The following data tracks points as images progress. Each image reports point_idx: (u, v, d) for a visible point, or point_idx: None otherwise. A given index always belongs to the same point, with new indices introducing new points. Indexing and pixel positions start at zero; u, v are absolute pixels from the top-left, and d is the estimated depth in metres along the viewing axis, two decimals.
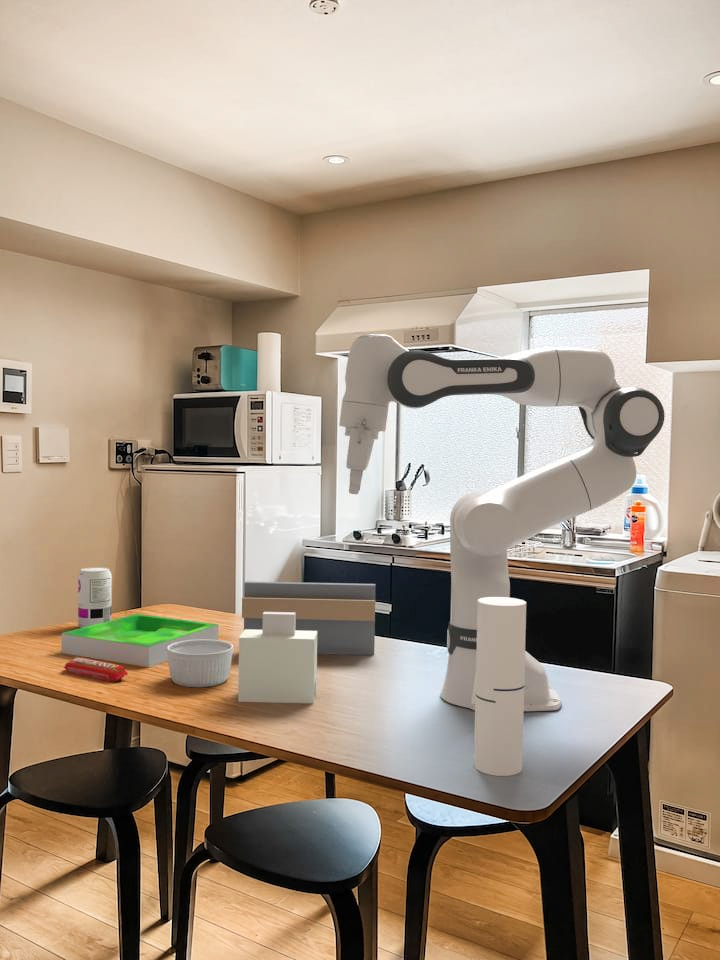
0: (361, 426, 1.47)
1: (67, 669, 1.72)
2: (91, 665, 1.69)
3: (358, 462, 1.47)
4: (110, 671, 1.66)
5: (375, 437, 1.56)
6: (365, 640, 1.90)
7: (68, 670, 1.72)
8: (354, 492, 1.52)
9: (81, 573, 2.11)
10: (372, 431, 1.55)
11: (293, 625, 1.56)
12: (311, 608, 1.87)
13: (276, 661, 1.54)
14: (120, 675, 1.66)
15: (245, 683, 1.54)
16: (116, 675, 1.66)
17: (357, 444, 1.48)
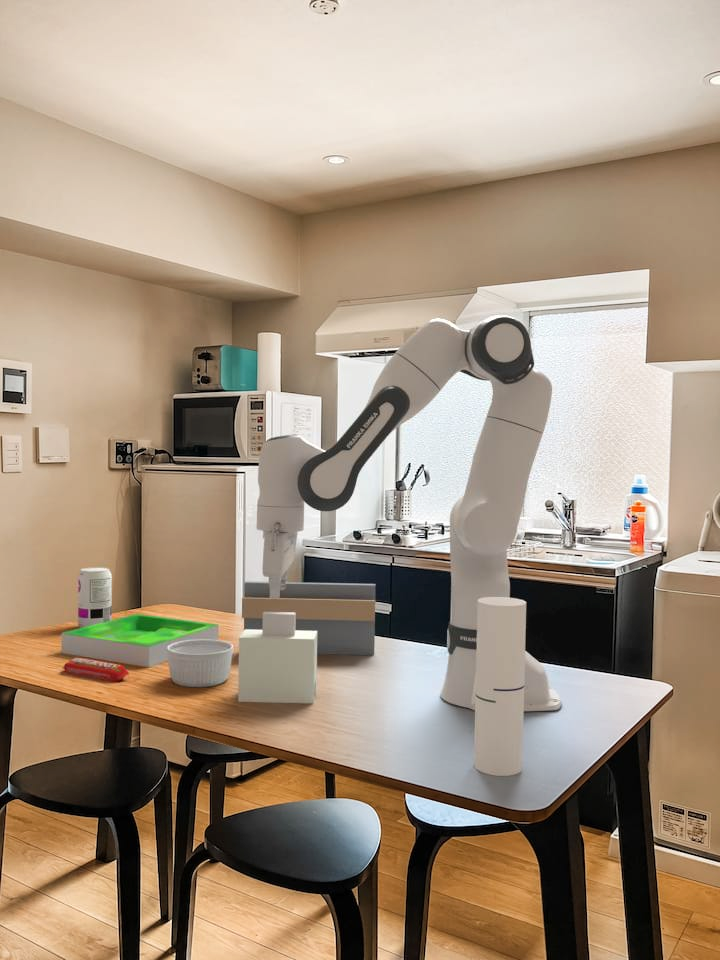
0: (273, 534, 1.46)
1: (66, 669, 1.71)
2: (91, 665, 1.69)
3: (274, 570, 1.47)
4: (112, 670, 1.66)
5: (293, 538, 1.55)
6: (365, 640, 1.90)
7: (67, 670, 1.71)
8: (275, 597, 1.51)
9: (81, 573, 2.11)
10: (289, 533, 1.54)
11: (293, 625, 1.56)
12: (311, 608, 1.87)
13: (276, 661, 1.54)
14: (122, 675, 1.66)
15: (245, 683, 1.54)
16: (118, 675, 1.66)
17: (271, 552, 1.47)
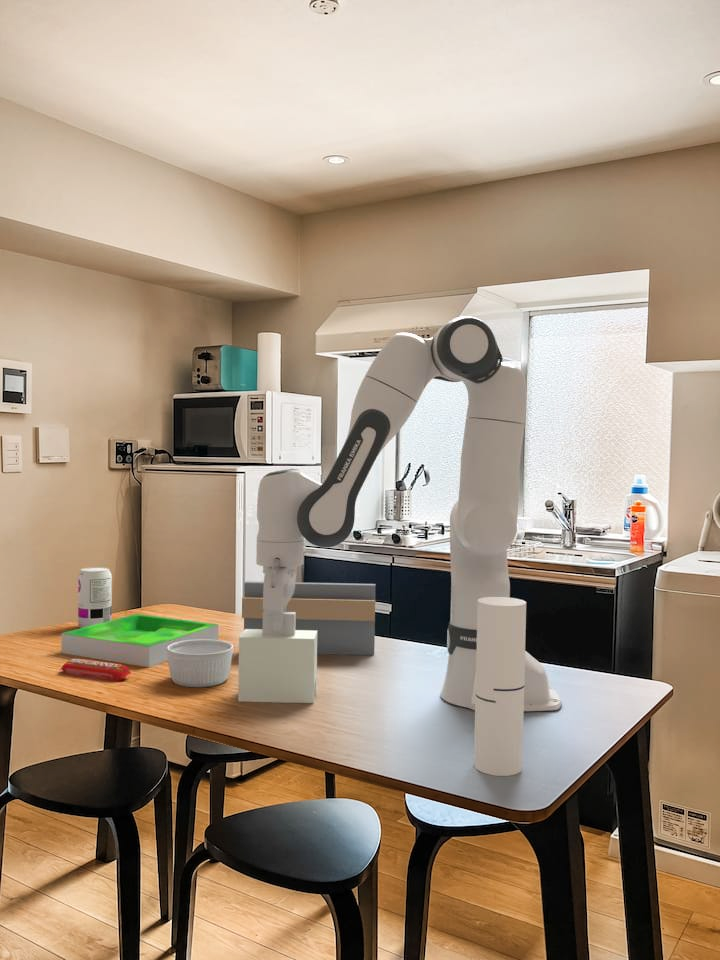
0: (273, 571, 1.47)
1: (65, 670, 1.71)
2: (92, 665, 1.69)
3: (274, 607, 1.47)
4: (114, 670, 1.67)
5: (293, 572, 1.55)
6: (365, 640, 1.90)
7: (66, 671, 1.71)
8: (278, 629, 1.55)
9: (81, 573, 2.11)
10: (289, 567, 1.54)
11: (293, 625, 1.56)
12: (311, 608, 1.87)
13: (276, 660, 1.54)
14: (124, 674, 1.67)
15: (245, 683, 1.54)
16: (121, 674, 1.66)
17: (271, 588, 1.47)
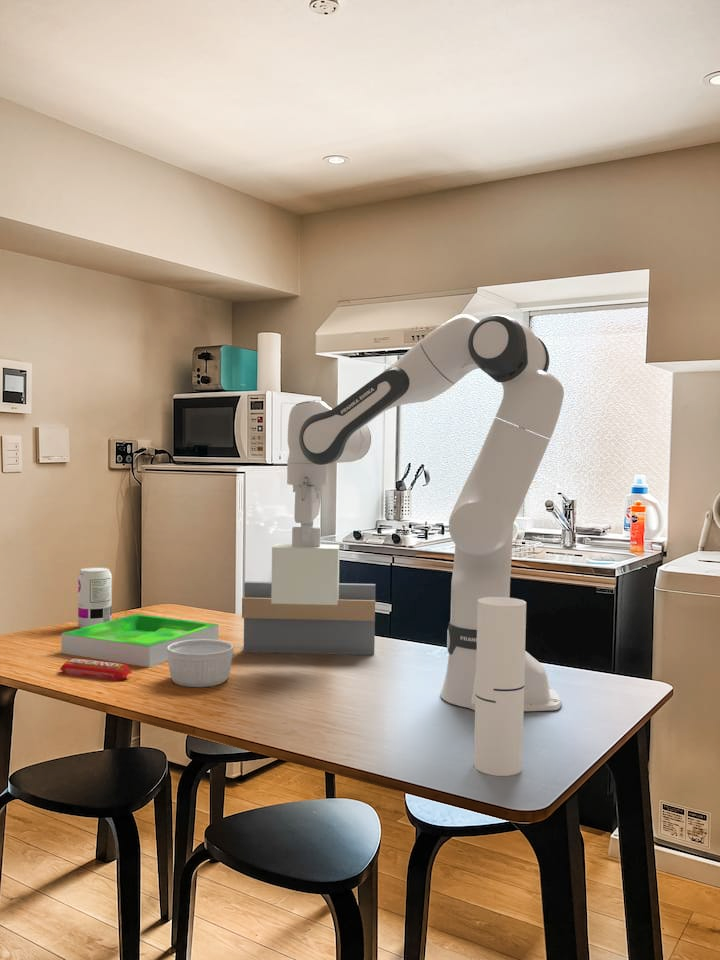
0: (303, 485, 1.69)
1: (64, 671, 1.71)
2: (92, 665, 1.69)
3: (304, 517, 1.69)
4: (116, 669, 1.67)
5: (319, 491, 1.78)
6: (365, 640, 1.90)
7: (66, 672, 1.71)
8: (306, 540, 1.77)
9: (81, 573, 2.11)
10: (316, 486, 1.77)
11: (319, 537, 1.79)
12: (311, 608, 1.87)
13: (304, 567, 1.76)
14: (126, 673, 1.67)
15: (277, 587, 1.77)
16: (122, 673, 1.67)
17: (302, 501, 1.70)
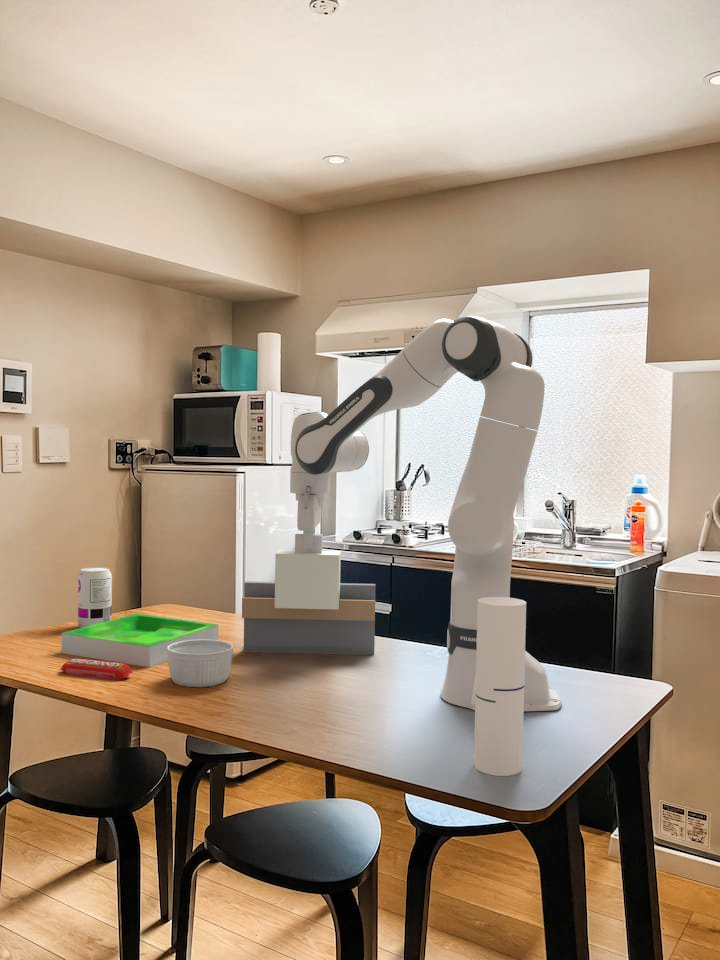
0: (306, 494, 1.75)
1: (65, 671, 1.71)
2: (93, 665, 1.69)
3: (307, 525, 1.76)
4: (117, 669, 1.67)
5: (321, 499, 1.84)
6: (365, 640, 1.90)
7: (66, 672, 1.71)
8: (309, 547, 1.83)
9: (81, 573, 2.11)
10: (318, 495, 1.83)
11: (321, 544, 1.85)
12: None
13: (306, 573, 1.83)
14: (127, 673, 1.68)
15: (281, 592, 1.83)
16: (123, 673, 1.67)
17: (304, 509, 1.76)
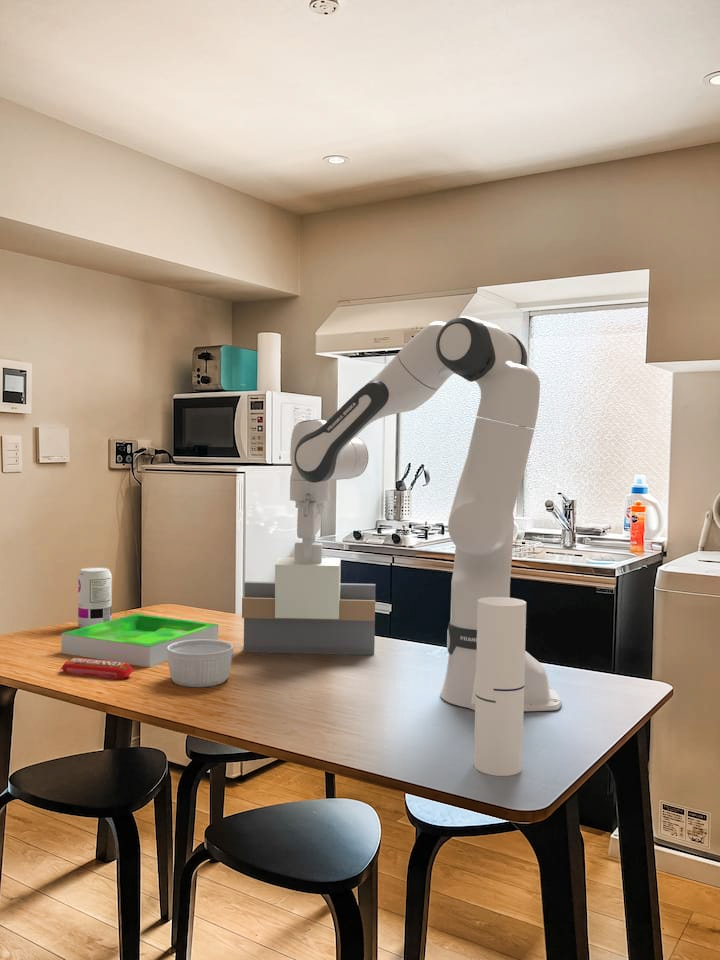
0: (305, 502, 1.75)
1: (66, 670, 1.71)
2: (94, 664, 1.70)
3: (306, 532, 1.76)
4: (118, 668, 1.68)
5: (321, 507, 1.84)
6: (365, 640, 1.90)
7: (67, 671, 1.71)
8: (308, 555, 1.82)
9: (81, 573, 2.11)
10: (317, 502, 1.83)
11: (320, 554, 1.84)
12: None
13: (306, 584, 1.82)
14: (128, 672, 1.68)
15: (281, 602, 1.83)
16: (125, 672, 1.68)
17: (304, 517, 1.76)
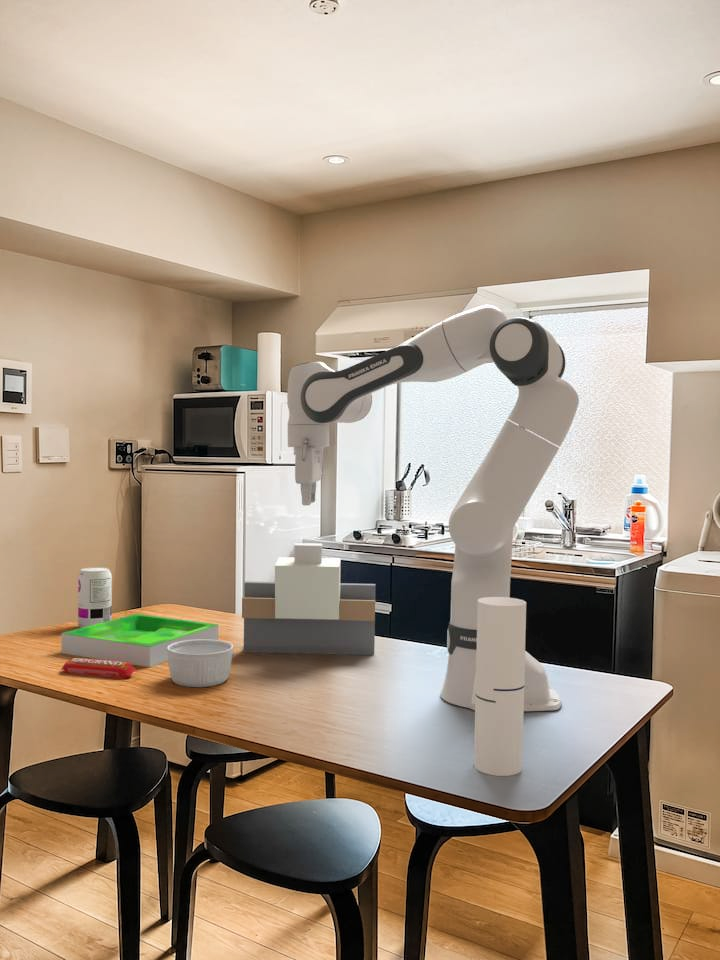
0: (303, 445, 1.67)
1: (67, 670, 1.71)
2: (95, 664, 1.70)
3: (305, 477, 1.68)
4: (120, 668, 1.68)
5: (320, 453, 1.76)
6: (365, 640, 1.90)
7: (68, 671, 1.71)
8: (307, 503, 1.72)
9: (81, 573, 2.11)
10: (316, 448, 1.75)
11: (320, 554, 1.83)
12: None
13: (306, 585, 1.82)
14: (130, 671, 1.69)
15: (281, 603, 1.83)
16: (127, 672, 1.68)
17: (302, 461, 1.68)
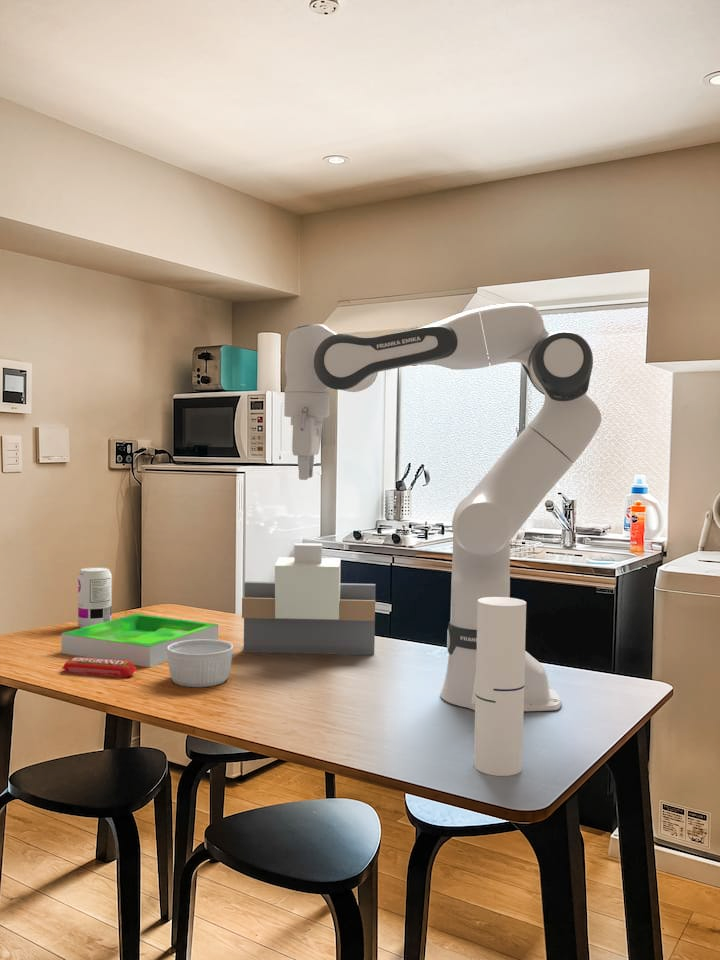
0: (302, 413, 1.53)
1: (67, 670, 1.71)
2: (97, 663, 1.70)
3: (303, 448, 1.54)
4: (122, 667, 1.69)
5: (320, 423, 1.62)
6: (365, 640, 1.90)
7: (69, 670, 1.71)
8: (304, 478, 1.59)
9: (81, 573, 2.11)
10: (316, 418, 1.61)
11: (320, 554, 1.83)
12: None
13: (306, 585, 1.82)
14: (132, 670, 1.69)
15: (281, 603, 1.83)
16: (128, 671, 1.69)
17: (300, 431, 1.54)
